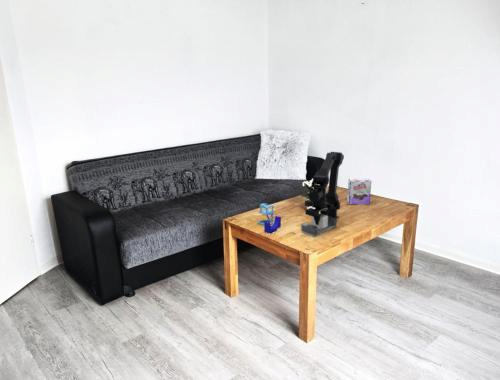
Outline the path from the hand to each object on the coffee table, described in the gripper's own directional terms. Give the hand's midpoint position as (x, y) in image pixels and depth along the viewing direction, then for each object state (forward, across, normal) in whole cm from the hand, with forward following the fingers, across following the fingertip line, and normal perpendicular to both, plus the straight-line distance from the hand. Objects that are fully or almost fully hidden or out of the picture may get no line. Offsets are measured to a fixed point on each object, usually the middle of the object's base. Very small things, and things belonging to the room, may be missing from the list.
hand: (319, 223), depth 225 cm
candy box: (+4, -54, -9) cm, 55 cm away
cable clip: (+4, +18, -18) cm, 25 cm away
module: (+1, 0, 0) cm, 1 cm away
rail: (+4, 0, 0) cm, 4 cm away
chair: (+4, +13, -28) cm, 31 cm away
